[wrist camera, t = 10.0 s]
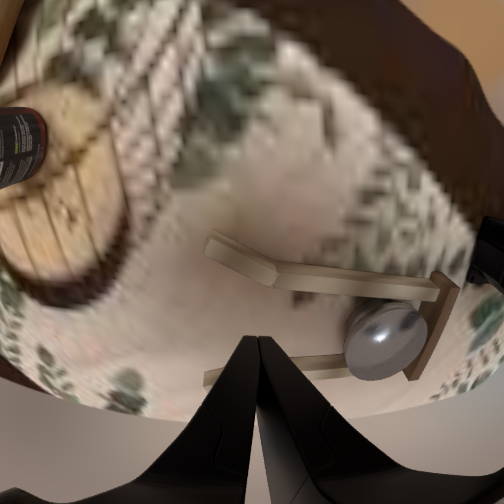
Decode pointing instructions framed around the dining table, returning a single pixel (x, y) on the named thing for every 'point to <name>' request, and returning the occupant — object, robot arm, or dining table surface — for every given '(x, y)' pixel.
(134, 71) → the dining table surface
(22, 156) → the supplement bottle
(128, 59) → the dining table surface
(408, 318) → the stud
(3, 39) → the bread roll
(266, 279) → the channel
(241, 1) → the dining table surface
